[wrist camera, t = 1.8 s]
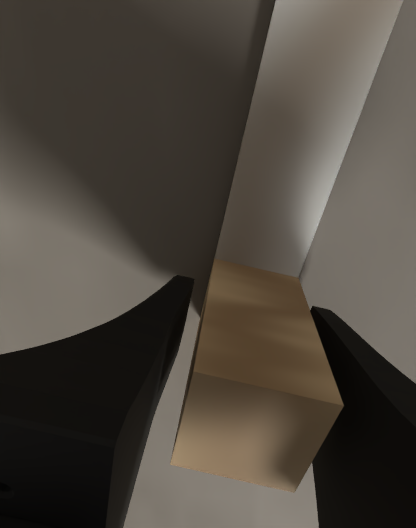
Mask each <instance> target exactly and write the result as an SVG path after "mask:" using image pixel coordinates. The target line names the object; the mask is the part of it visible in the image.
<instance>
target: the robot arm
mask: <svg viewBox="0 0 416 528" xmlns="http://www.w3.org/2000/svg"><path fill="white" fill-rule="evenodd" d="M194 280H195V279H192V278H188V277H184V276H179V275H177V276H175V277H173V278H172V279H171V280H170V281H169V282H168V283H167V284H165V285H164V286H163V287H162V288H161V289H159V290H158V291H157V292H155V293H154V294H153V295H151V296H150V297H149V298H147V299H146V300H145V301H143V302H142V303H140V304H138V305H137V306H135V307H134V308H132V309H131V310H129V311H127V312H126V313H124V314H122V315H120V316H119V317H117V318H115V319H113V320H111V321H109V322H107V323H104V324H102V325H100V326H97V327H95V328H92V329H89V330H87V331H84V332H82V333H79V334H77V335H74V336H71V337H68V338H65V339H62V340H58V341H55V342H51V343H48V344H44V345H41V346H37V347H33V348H29V349H24V350H20V351H15V352H10V353H6V354H1V355H0V528H123V526H124V522H125V518H126V514H127V511H128V507H129V503H130V500H131V496H132V492H133V489H134V485H135V481H136V478H137V474H138V470H139V467H140V463H141V460H142V456H143V452H144V449H145V445H146V442H147V438H148V434H149V431H150V427H151V424H152V420H153V417H154V414H155V411H156V408H157V405H158V403H159V400H160V398H161V395H162V392H163V390H164V387H165V385H166V382H167V379H168V377H169V374H170V371H171V369H172V366H173V364H174V361H175V358H176V356H177V353H178V350H179V346H180V342H181V338H182V334H183V330H184V326H185V322H186V317H187V312H188V308H189V303H190V298H191V294H192V289H193V284H194ZM310 312H311V315H312V318H313V321H314V323H315V326H316V329H317V332H318V335H319V337H320V340H321V343H322V346H323V349H324V351H325V354H326V357H327V360H328V363H329V366H330V368H331V371H332V374H333V377H334V380H335V382H336V385H337V388H338V391H339V394H340V396H341V399H342V402H343V405H344V406H343V408H342V410H341V412H340V413H339V415H338V417H337V419H336V420H335V422H334V424H333V426H332V427H331V429H330V431H329V433H328V434H327V436H326V438H325V440H324V442H323V443H322V445H321V447H320V449H319V450H318V452H317V454H316V456H315V457H314V459H313V461H312V464H313V473H314V481H315V490H316V500H317V511H318V522H319V528H416V384H415V383H414V382H413V381H411V380H410V379H409V378H408V377H406V376H405V375H404V374H403V373H401V372H400V371H399V370H398V369H397V368H395V367H394V366H393V365H392V364H391V363H389V362H388V361H387V360H386V359H385V358H384V357H382V356H381V355H380V354H379V353H378V352H377V351H376V350H374V349H373V348H372V347H371V346H370V345H369V344H368V343H367V342H366V341H365V340H363V339H362V338H361V337H360V336H359V335H358V334H357V333H356V332H355V331H354V330H353V329H352V328H351V327H349V326H348V325H347V324H346V323H345V322H344V321H343V320H342V319H341V318H339V317H338V316H337V315H336V314H335V313H333V312H332V311H331V310H328V309H324V308H319V307H315V306H312V308H311V310H310Z"/></svg>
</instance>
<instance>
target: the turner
mask: <svg viewBox="0 0 416 528" xmlns="http://www.w3.org/2000/svg"><path fill="white" fill-rule="evenodd" d="M402 2H403V0H275V5H274V9H273V13H272V17H271V21H270V26H269V30H268V34H267V38H266V43H265V47H264V51H263V55H262V59H261V64H260V68H259V72H258V76H257V80H256V85H255V89H254V93H253V97H252V102H251V106H250V110H249V114H248V118H247V123H246V127H245V131H244V135H243V139H242V144H241V148H240V152H239V156H238V161H237V165H236V169H235V173H234V177H233V182H232V186H231V190H230V194H229V199H228V203H227V207H226V211H225V215H224V220H223V224H222V228H221V232H220V236H219V241H218V245H217V249H216V253H215V258H214V262H213V266H212V270H211V274H210V279H209V283H208V287H207V291H206V295H205V300H204V304H203V308H202V312H201V317H200V321H199V326H198V331H197V336H196V341H195V346H194V351H193V356H192V360H191V365H190V370H189V375H188V380H187V385H186V390H185V395H184V400H183V404H182V409H181V414H180V419H179V424H178V429H177V434H176V439H175V444H174V449H173V453H172V458H171V463H170V465H175V466H179V467H183V468H188V469H192V470H197V471H201V472H205V473H210V474H214V475H219V476H223V477H227V478H232V479H236V480H241V481H245V482H249V483H254V484H258V485H262V486H267V487H271V488H276V489H280V490H284V491H289V492H293V493H294V492H295V491H296V489H297V487H298V485H299V484H300V482H301V480H302V478H303V477H304V475H305V473H306V471H307V470H308V468H309V466H310V464H311V463H312V461H313V459H314V457H315V456H316V454H317V452H318V450H319V449H320V447H321V445H322V443H323V442H324V440H325V438H326V436H327V434H328V433H329V431H330V429H331V427H332V426H333V424H334V422H335V420H336V419H337V417H338V415H339V413H340V412H341V410H342V408H343V406H344V405H343V402H342V399H341V396H340V394H339V391H338V388H337V385H336V382H335V380H334V377H333V374H332V371H331V368H330V366H329V363H328V360H327V357H326V354H325V351H324V349H323V346H322V343H321V340H320V337H319V335H318V332H317V329H316V326H315V323H314V321H313V318H312V315H311V312H310V309H309V307H308V304H307V301H306V298H305V295H304V293H303V290H302V287H301V284H300V281H299V279H298V277H299V274H300V272H301V269H302V266H303V264H304V261H305V258H306V256H307V253H308V251H309V248H310V245H311V243H312V240H313V237H314V235H315V232H316V229H317V227H318V224H319V221H320V219H321V216H322V214H323V211H324V208H325V206H326V203H327V200H328V198H329V195H330V192H331V190H332V187H333V185H334V182H335V179H336V177H337V174H338V171H339V169H340V166H341V163H342V161H343V158H344V156H345V153H346V150H347V148H348V145H349V142H350V140H351V137H352V134H353V132H354V129H355V126H356V124H357V121H358V119H359V116H360V113H361V111H362V108H363V105H364V103H365V100H366V97H367V95H368V92H369V90H370V87H371V84H372V82H373V79H374V76H375V74H376V71H377V68H378V66H379V63H380V61H381V58H382V55H383V53H384V50H385V47H386V45H387V42H388V39H389V37H390V34H391V31H392V29H393V26H394V24H395V21H396V18H397V16H398V13H399V10H400V8H401V5H402Z"/></svg>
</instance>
